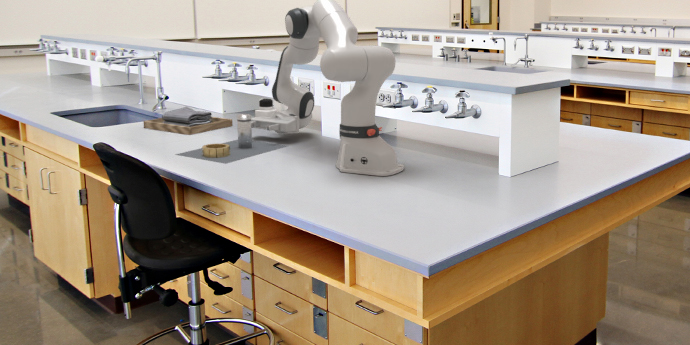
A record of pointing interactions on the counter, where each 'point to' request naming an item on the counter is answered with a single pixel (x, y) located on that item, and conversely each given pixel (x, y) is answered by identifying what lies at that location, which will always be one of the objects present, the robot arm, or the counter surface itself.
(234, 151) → the bench mat
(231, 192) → the counter surface
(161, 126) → the towel frame
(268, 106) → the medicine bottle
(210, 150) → the brass ring collar
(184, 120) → the towel
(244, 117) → the clear lidded jar
